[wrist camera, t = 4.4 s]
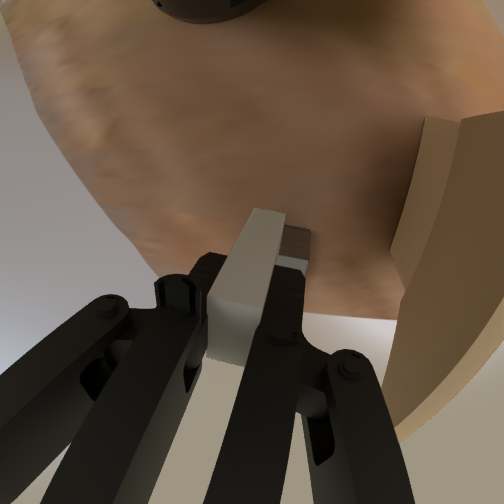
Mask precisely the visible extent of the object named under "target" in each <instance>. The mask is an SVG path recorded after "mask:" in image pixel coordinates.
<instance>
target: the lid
mask: <svg viewBox="0 0 504 504" xmlns="http://www.w3.org/2000/svg"><path fill="white" fill-rule="evenodd" d="M503 340H504V111H500V112H494V113H489V114H483V115H478V116H473V117H469V118H464V119H461V123H460V128H459V134H458V139H457V144H456V148H455V153H454V157H453V161H452V165H451V169H450V173H449V177H448V180H447V184H446V187H445V191H444V194H443V197H442V201H441V204H440V207H439V210H438V213H437V216H436V219H435V222H434V225H433V227H432V230H431V233H430V235H429V238H428V241H427V243H426V246H425V248H424V251H423V253H422V256H421V258H420V260H419V263H418V265H417V267H416V270H415V272H414V274H413V277H412V279H411V281H410V283H409V285H408V287H407V289H406V292H405V294H404V296H403V298H402V300H401V303H400V309H399V315H398V320H397V325H396V331H395V335H394V340H393V344H392V349H391V353H390V357H389V361H388V365H387V369H386V373H385V376H384V380H383V384H382V387H381V390H382V393H383V396H384V399H385V402H386V405H387V408H388V410H389V413H390V416H391V420H392V423H393V426H394V429H395V432H396V435H397V438H398V442H399V444H400V443H401V442H402V441H404V440H405V439H406V438H408V437H409V436H410V435H411V434H413V433H414V432H415V431H417V430H418V429H419V428H420V427H421V426H423V425H424V424H425V423H426V422H427V421H429V420H430V419H431V418H432V417H433V416H434V415H435V414H437V413H438V412H439V411H440V410H441V409H442V408H443V407H444V406H445V405H446V404H447V403H449V402H450V401H451V400H452V399H453V398H454V397H455V396H456V395H457V394H458V392H460V391H461V389H463V388H464V386H465V385H466V384H467V383H468V382H469V381H470V380H471V379H472V378H473V377H474V376H475V375H476V373H477V372H478V371H479V370H480V369H481V368H482V367H483V365H484V364H485V363H486V362H487V361H488V359H489V358H490V357H491V355H492V354H493V353H494V352H495V351H496V349H497V348H498V347H499V345H500V344H501V343H502V341H503Z"/></svg>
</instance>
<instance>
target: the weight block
mask: <svg viewBox="0 0 504 504" xmlns="http://www.w3.org/2000/svg"><path fill="white" fill-rule="evenodd" d="M309 245H310V230H307V229H302V228H296V227H291V226H286V225H284V227H283V233H282V238H281V243H280V249H279V254H278V259H277V264H276V265H279V266H284V267H289V268H294V269H299V270H301V271H302V273H303V275H304V277H305V274H306V270H307V266H308V262H309Z"/></svg>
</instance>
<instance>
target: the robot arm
mask: <svg viewBox="0 0 504 504" xmlns="http://www.w3.org/2000/svg"><path fill="white" fill-rule="evenodd" d="M152 1H153V3H154V4H155V5H156V6H157V7H158V8H159V9H160V10H162V11H163V12H164V13H166V14H168V15H170V16H172V17H174V18H176V19H179V20H181V21H185V22H190V23H201V24H203V23H215V22H221V21H225V20H228V19H232V18H235V17H237V16H240V15H242V14H244V13H246V12H248V11H250V10H252V9H253V8H255V7H256V6H258V5H259V4H261V3H262V2H263V1H264V0H152ZM285 217H286V213H281V212H275V211H270V210H265V209H260V208H254V209H253V211H252V212H251V214H250V216H249V218H248V220H247V222H246V223H245V225H244V227H243V229H242V231H241V233H240V235H239V236H238V238H237V240H236V242H235V244H234V246H233V248H232V249H231V251H230V253H229V255H228V256H227V255H222V254H217V253H212V252H209V253H207V254H205V255H203V256H202V257H200V258H199V260H198V261H197V263H196V264H195V265H194V267H193V268H192V270H191V271H190V274H188V275H184V274H170V275H166V276H163V277H161V278H159V279H158V280H157V281H156V282H154V287H155V295H156V303H157V306H156V308H153V309H137V308H129V305H128V302H127V301H126V300H125V299H124V298H123V297H121V296H118V295H113V294H109V295H103V296H100V297H98V298H96V299H94V300H93V301H92V302H90V303H89V304H88V305H86V306H85V307H84V308H82V309H81V310H80V311H78V312H77V313H76V314H75V315H73V316H72V317H71V318H69V319H68V320H67V321H65V322H64V323H63V324H61V325H60V326H59V327H58V328H56V329H55V330H54V331H53V332H51V333H50V334H49V335H48V336H46V337H45V338H44V339H43V340H41V341H40V342H39V343H38V344H36V345H35V346H34V347H33V348H32V349H30V350H29V351H28V352H27V353H26V354H24V355H23V356H22V357H21V358H20V359H19V360H17V361H16V362H15V363H14V364H13V365H11V366H10V367H9V368H8V369H7V370H6V371H4V372H3V373H2V374H1V375H0V504H10V503H12V502H13V501H14V500H15V499H16V498H17V497H18V496H19V495H20V494H21V493H22V492H23V491H24V490H25V489H26V488H27V487H28V486H29V485H30V484H31V483H32V482H33V481H34V480H35V479H36V478H37V477H38V476H39V475H40V474H41V473H42V472H43V471H44V470H45V469H46V467H48V466H49V465H50V463H51V462H52V461H53V460H54V459H55V458H56V457H57V456H58V455H59V454H60V453H61V452H62V451H63V450H64V449H65V448H66V447H67V446H68V445H69V444H70V443H71V444H70V446H69V448H68V450H67V452H66V453H65V455H64V457H63V459H62V461H61V463H60V465H59V467H58V469H57V471H56V472H55V474H54V476H53V478H52V480H51V482H50V484H49V486H48V488H47V490H46V492H45V495H44V496H43V499H42V501H41V503H40V504H148V502H149V499H150V496H151V494H152V492H153V489H154V487H155V484H156V482H157V479H158V477H159V474H160V472H161V469H162V467H163V464H164V461H165V459H166V457H167V454H168V452H169V449H170V447H171V444H172V442H173V439H174V437H175V434H176V432H177V429H178V427H179V424H180V422H181V420H182V417H183V415H184V412H185V410H186V407H187V405H188V402H189V400H190V397H191V395H192V392H193V390H194V387H195V385H196V383H197V380H198V378H199V375H200V373H201V369H202V358H203V356H204V354H205V351H206V353H207V355H206V357H207V358H211V359H215V360H218V361H223V362H226V363H230V364H234V365H239V366H243V367H245V369H244V372H243V376H242V379H241V382H240V386H239V389H238V393H237V396H236V400H235V403H234V406H233V410H232V413H231V417H230V420H229V423H228V427H227V430H226V433H225V436H224V439H223V443H222V446H221V449H220V452H219V456H218V459H217V462H216V465H215V468H214V471H213V474H212V478H211V481H210V484H209V487H208V490H207V493H206V496H205V499H204V502H203V504H280V500H281V495H282V490H283V485H284V480H285V474H286V469H287V464H288V458H289V452H290V445H291V440H292V433H293V427H294V419H295V413H296V412H298V413H300V414H301V418H302V424H303V430H304V438H305V444H306V451H307V458H308V464H309V472H310V479H311V487H312V494H313V501H314V504H415V501H414V497H413V493H412V489H411V485H410V481H409V477H408V473H407V470H406V466H405V462H404V459H403V455H402V452H401V448H400V445H399V442H398V438H397V435H396V432H395V429H394V426H393V423H392V420H391V416H390V413H389V410H388V408H387V405H386V402H385V399H384V396H383V393H382V390H381V387H380V385H379V382H378V380H377V376H376V374H375V371H374V369H373V366H372V364H371V363H370V361H369V359H368V358H366V357H365V356H364V355H363V354H361V353H359V352H357V351H355V350H349V349H343V350H338V351H336V352H335V353H333V354H332V355H330V354H328V353H326V352H323V351H321V350H319V349H317V348H316V347H314V346H312V345H311V344H310V343H309V342H308V341H307V340H306V338H305V337H304V335H303V332H302V318H303V317H302V316H303V306H304V294H305V280H306V279H305V277H304V275H303V273H302V271H301V270H299V269H294V268H289V267H284V266H279V265H276V264H277V259H278V254H279V249H280V243H281V238H282V233H283V227H284V222H285Z"/></svg>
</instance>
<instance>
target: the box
mask: <svg viewBox="0 0 504 504" xmlns="http://www.w3.org/2000/svg"><path fill="white" fill-rule="evenodd" d="M459 128H460V123H456V122H451V121H446V120H441V119H436V118H430V117H425V121H424V127H423V132H422V137H421V142H420V147H419V151H418V156H417V160H416V164H415V168H414V172H413V176H412V180H411V184H410V188H409V191H408V195H407V198H406V202H405V205H404V208H403V211H402V215H401V218H400V221H399V224H398V227H397V230H396V233H395V236H394V239H393V242H392V245H391V247H390V250H389V251H390V253H391V256H392V258H393V260H394V263H395V265H396V267H397V270H398V272H399V275H400V277H401V280H402V282H403V285H404V287H405V290H406V289H407V287H408V285H409V283H410V281H411V279H412V277H413V274H414V272H415V270H416V267H417V265H418V263H419V260H420V258H421V256H422V253H423V251H424V248H425V246H426V243H427V241H428V238H429V235H430V233H431V230H432V227H433V225H434V222H435V219H436V216H437V213H438V210H439V207H440V204H441V201H442V197H443V194H444V191H445V187H446V184H447V180H448V177H449V173H450V169H451V165H452V161H453V157H454V153H455V148H456V144H457V139H458V134H459Z"/></svg>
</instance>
